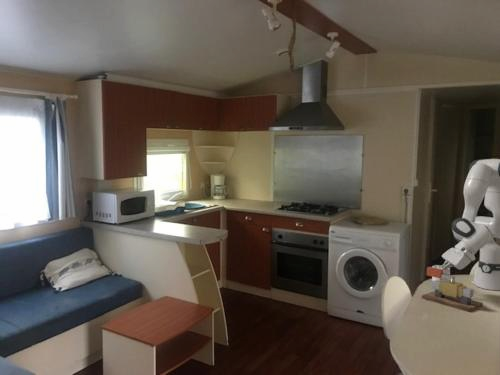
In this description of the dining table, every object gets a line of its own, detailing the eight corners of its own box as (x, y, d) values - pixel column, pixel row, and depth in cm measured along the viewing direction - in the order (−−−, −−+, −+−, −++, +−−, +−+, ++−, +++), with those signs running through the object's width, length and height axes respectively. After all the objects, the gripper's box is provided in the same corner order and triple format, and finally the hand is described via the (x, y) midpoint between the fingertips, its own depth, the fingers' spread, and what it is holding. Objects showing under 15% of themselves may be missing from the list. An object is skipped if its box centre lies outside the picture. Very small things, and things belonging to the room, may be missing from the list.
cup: (447, 292, 214) (448, 270, 214) (428, 289, 220) (430, 267, 219) (450, 288, 222) (451, 267, 221) (433, 285, 227) (434, 264, 226)
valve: (436, 293, 207) (437, 277, 206) (473, 303, 193) (474, 286, 192) (430, 295, 203) (431, 279, 203) (468, 306, 189) (469, 288, 188)
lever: (455, 281, 198) (456, 272, 197) (453, 282, 196) (453, 273, 196) (429, 275, 208) (429, 266, 208) (426, 276, 206) (426, 267, 206)
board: (435, 293, 212) (436, 290, 212) (482, 306, 194) (482, 303, 194) (421, 298, 204) (421, 295, 204) (469, 311, 186) (469, 308, 185)
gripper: (451, 242, 217) (431, 259, 218) (467, 250, 196) (445, 269, 198) (460, 250, 216) (440, 267, 218) (476, 260, 196) (454, 279, 198)
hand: (442, 268), depth 208 cm, fingers closed
